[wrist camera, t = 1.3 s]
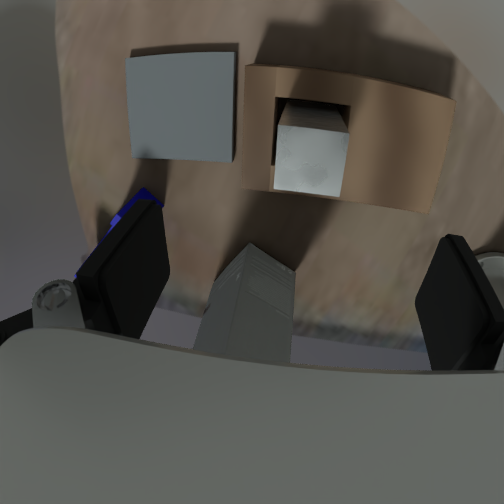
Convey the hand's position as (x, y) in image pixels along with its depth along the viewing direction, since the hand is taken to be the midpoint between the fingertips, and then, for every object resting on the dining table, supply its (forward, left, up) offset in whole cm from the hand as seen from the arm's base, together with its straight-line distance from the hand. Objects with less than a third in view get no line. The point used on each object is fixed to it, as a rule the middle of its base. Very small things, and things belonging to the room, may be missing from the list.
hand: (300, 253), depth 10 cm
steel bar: (0, 0, -19) cm, 19 cm away
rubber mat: (+11, -1, -19) cm, 22 cm away
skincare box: (+4, +18, -20) cm, 27 cm away
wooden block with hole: (-3, 0, -19) cm, 20 cm away
